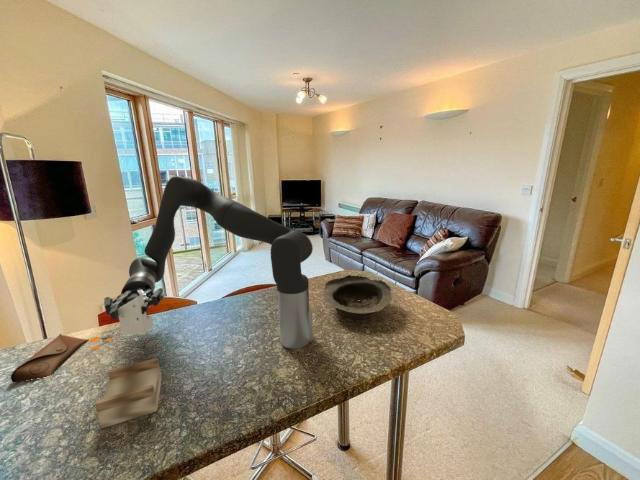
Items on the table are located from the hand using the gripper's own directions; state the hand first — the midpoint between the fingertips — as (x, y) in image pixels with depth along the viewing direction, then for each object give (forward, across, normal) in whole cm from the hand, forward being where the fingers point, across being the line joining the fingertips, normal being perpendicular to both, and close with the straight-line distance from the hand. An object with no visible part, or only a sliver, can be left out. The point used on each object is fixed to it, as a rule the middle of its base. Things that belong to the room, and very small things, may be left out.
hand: (128, 313), depth 68 cm
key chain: (-23, -14, +18) cm, 32 cm away
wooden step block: (+9, 0, +18) cm, 20 cm away
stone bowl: (-5, +68, +18) cm, 70 cm away
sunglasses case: (-19, -24, +18) cm, 35 cm away
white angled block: (-2, +1, +6) cm, 7 cm away
